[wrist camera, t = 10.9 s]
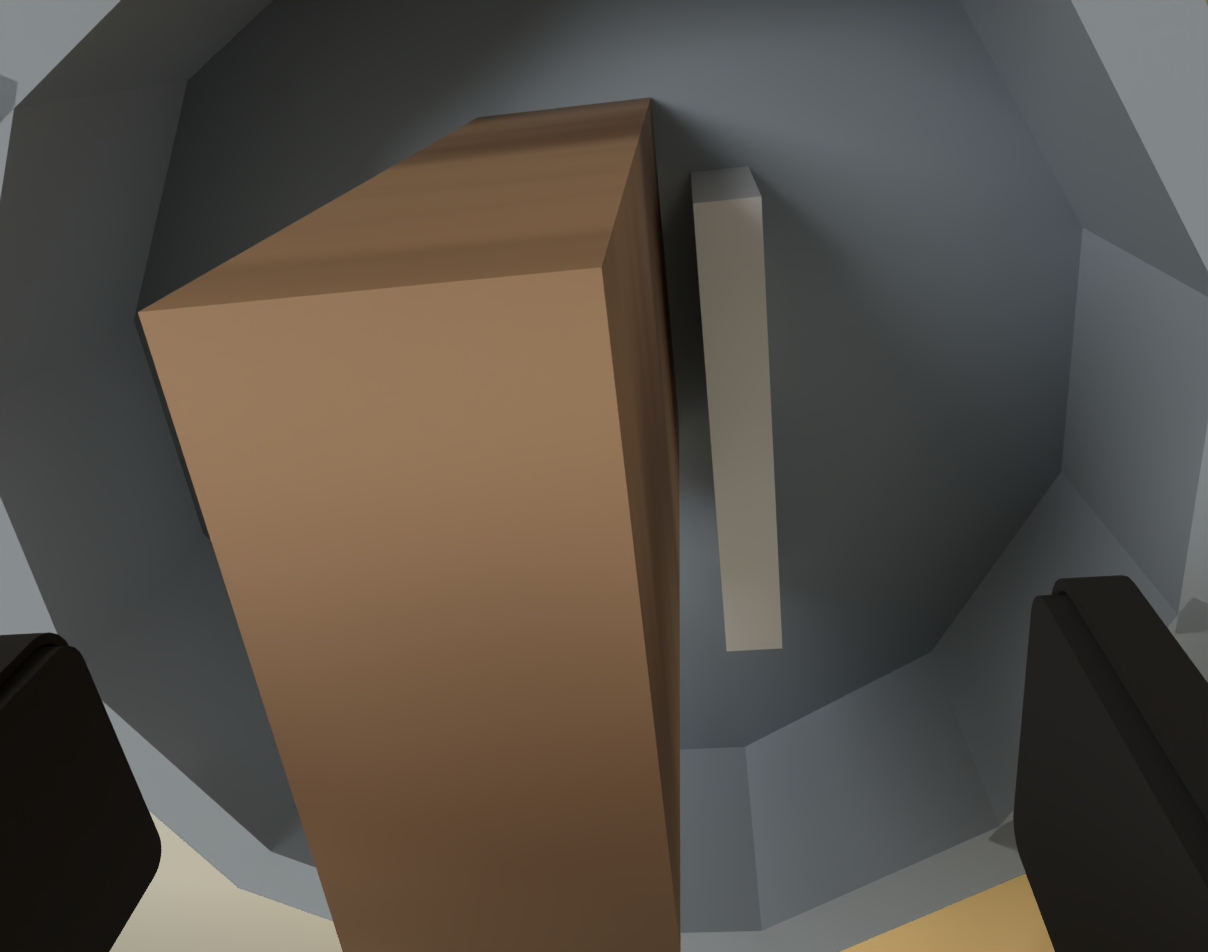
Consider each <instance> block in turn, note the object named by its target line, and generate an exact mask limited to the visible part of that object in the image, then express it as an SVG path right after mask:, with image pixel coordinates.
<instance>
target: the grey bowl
mask: <svg viewBox="0 0 1208 952" xmlns="http://www.w3.org/2000/svg"><path fill="white" fill-rule="evenodd" d="M649 97H651V107H652V118H653V130H654V141H655V152H656V164H657V175H658V187H659V198H660V209H661V221H662V232H663V244H664V255H665V267H666V278H667V289H668V301H669V312H670V324H671V335H672V346H673V358H674V369H675V381H676V392H677V404H678V415H679V533H680V927H681V952H839V951H842V950H844V949H847V948H849V947H851V946H854V945H856V944H858V943H861V942H863V941H866V940H868V939H870V938H873V937H875V936H877V935H880V934H882V933H885V932H887V931H889V930H892V929H894V928H896V927H899V926H901V925H904V924H906V923H908V922H911V921H913V920H915V919H918V918H920V917H923V916H925V915H927V914H930V913H932V912H934V911H937V910H939V909H942V908H944V907H946V906H949V905H951V904H953V903H956V902H958V901H961V900H963V899H965V898H968V897H970V896H972V895H975V894H977V893H980V892H982V891H984V890H987V889H989V888H991V887H994V886H996V885H999V884H1001V883H1003V882H1006V881H1008V880H1010V879H1013V878H1015V877H1018V876H1020V875H1022V874H1025V873H1026V872H1025V870H1024V867H1023V864H1022V862H1021V859H1020V856H1019V853H1018V849H1017V845H1016V840H1015V833H1014V823H1013V812H1014V800H1015V789H1016V777H1017V766H1018V754H1019V743H1020V732H1021V720H1022V709H1023V697H1024V686H1025V674H1026V663H1027V651H1028V640H1029V629H1030V617H1031V608H1032V603H1033V600H1034V598H1035V597H1036V596H1040V595H1052V589H1053V587H1054V584H1055V582H1056V581H1057V580H1059V579H1060V578H1077V577H1095V576H1114V575H1124V576H1128V577H1129V578H1130V579H1131V580H1132V581H1133V582H1134V583H1135V584H1136V585H1137V587H1138V588H1139V590H1140V591H1141V592H1142V594H1143V595H1144V596H1145V598H1146V599H1147V600H1148V602H1149V603H1150V605H1151V606H1152V607H1153V609H1154V610H1155V611H1156V613H1157V614H1158V615H1159V617H1160V618H1161V620H1162V621H1163V622H1164V624H1165V625H1166V626H1167V628H1168V629H1169V630H1170V632H1171V633H1172V635H1173V636H1174V637H1175V639H1176V640H1177V641H1178V643H1179V644H1180V645H1181V647H1182V648H1183V650H1184V651H1185V652H1186V654H1187V655H1188V656H1189V658H1190V659H1191V660H1192V662H1193V663H1194V665H1195V666H1196V667H1197V669H1198V670H1199V671H1200V673H1201V674H1202V675H1203V677H1204V678H1205V680H1206V681H1207V682H1208V5H1207V2H1206V0H0V635H11V634H30V633H48V632H50V633H54V634H58V635H60V636H61V637H62V638H63V639H65V640H66V642H67V643H68V645H69V646H72V647H75V648H76V649H77V650H79V651H80V653H81V654H82V656H83V658H84V660H85V662H86V664H87V667H88V669H89V671H90V674H91V676H92V678H93V681H94V683H95V686H96V688H97V690H98V693H99V695H100V697H101V700H102V702H103V704H104V707H105V709H106V711H107V714H108V716H109V718H110V721H111V723H112V726H113V728H114V730H115V733H116V735H117V737H118V740H119V742H120V744H121V747H122V749H123V751H124V754H125V756H126V758H127V761H128V763H129V766H130V768H131V770H132V773H133V775H134V777H135V780H136V782H137V784H138V787H139V789H140V791H141V794H142V796H143V799H144V801H145V803H146V806H147V808H148V810H149V811H150V812H151V813H152V814H154V815H155V816H156V817H157V818H158V819H159V820H160V821H162V822H163V823H164V824H165V825H166V826H167V827H169V828H170V829H171V830H172V831H173V832H174V833H175V834H177V835H178V836H179V837H180V838H181V839H183V840H184V841H185V842H186V843H187V844H189V846H191V847H192V848H193V849H194V850H195V851H196V852H197V853H199V854H200V855H201V856H202V857H203V858H204V859H206V860H207V861H208V862H209V863H210V864H212V865H213V866H214V867H215V868H216V869H217V870H218V871H219V872H221V873H222V874H223V875H224V876H225V877H226V878H228V879H229V880H230V881H231V882H232V883H233V884H234V885H236V886H237V887H238V888H240V889H243V890H246V891H249V892H252V893H255V894H257V895H260V896H263V897H266V898H269V899H272V900H275V901H277V902H280V903H283V904H286V905H289V906H292V907H294V908H297V909H300V910H303V911H306V912H308V913H311V914H314V915H317V916H320V917H323V918H326V919H329V920H331V921H333V919H332V916H331V913H330V910H329V907H328V904H327V901H326V897H325V894H324V891H323V888H322V885H321V882H320V879H319V876H318V872H317V869H316V866H315V863H314V860H313V857H312V854H311V851H310V848H309V844H308V841H307V838H306V835H305V832H304V829H303V826H302V823H301V819H300V816H299V813H298V810H297V807H296V804H295V801H294V798H293V795H292V791H291V788H290V785H289V782H288V779H287V776H286V773H285V770H284V766H283V763H282V760H281V757H280V754H279V751H278V748H277V745H276V741H275V738H274V735H273V732H272V729H271V726H270V723H269V720H268V717H267V713H266V710H265V707H264V704H263V701H262V698H261V695H260V692H259V688H258V685H257V682H256V679H255V676H254V673H253V670H252V667H251V664H250V660H249V657H248V654H247V651H246V648H245V645H244V642H243V639H242V635H241V632H240V629H239V626H238V623H237V620H236V617H235V614H234V611H233V607H232V604H231V601H230V598H229V595H228V592H227V589H226V586H225V582H224V579H223V576H222V573H221V570H220V567H219V564H218V561H217V558H216V554H215V551H214V548H213V545H212V542H211V539H210V536H209V533H208V529H207V526H206V523H205V520H204V517H203V514H202V511H201V508H200V505H199V501H198V498H197V495H196V492H195V489H194V486H193V483H192V480H191V476H190V473H189V470H188V467H187V464H186V461H185V458H184V455H183V452H182V448H181V445H180V442H179V439H178V436H177V433H176V430H175V427H174V423H173V420H172V417H171V414H170V411H169V408H168V405H167V402H166V399H165V395H164V392H163V389H162V386H161V383H160V380H159V377H158V374H157V370H156V367H155V364H154V361H153V358H152V355H151V352H150V349H149V346H148V342H147V339H146V336H145V333H144V330H143V327H142V324H141V321H140V317H139V314H138V312H139V311H141V310H143V309H144V308H146V307H148V306H150V305H151V304H153V303H155V302H157V301H158V300H160V299H162V298H164V297H165V296H167V295H169V294H170V293H172V292H174V291H176V290H177V289H179V288H181V287H183V286H184V285H186V284H188V283H190V282H191V281H193V280H195V279H197V278H198V277H200V276H202V275H204V274H205V273H207V272H209V271H211V270H212V269H214V268H216V267H218V266H219V265H221V264H223V263H225V262H226V261H228V260H230V259H232V258H233V257H235V256H237V255H239V254H240V253H242V252H244V251H246V250H247V249H249V248H251V247H252V246H254V245H256V244H258V243H259V242H261V241H263V240H265V239H266V238H268V237H270V236H272V235H273V234H275V233H277V232H279V231H280V230H282V229H284V228H286V227H287V226H289V225H291V224H293V223H294V222H296V221H298V220H300V219H301V218H303V217H305V216H307V215H308V214H310V213H312V212H314V211H315V210H317V209H319V208H321V207H322V206H324V205H326V204H327V203H329V202H331V201H333V200H334V199H336V198H338V197H340V196H341V195H343V194H345V193H347V192H348V191H350V190H352V189H354V188H355V187H357V186H359V185H361V184H362V183H364V182H366V181H368V180H369V179H371V178H373V177H375V176H376V175H378V174H380V173H382V172H383V171H385V170H387V169H389V168H390V167H392V166H394V165H396V164H397V163H399V162H401V161H402V160H404V159H406V158H408V157H409V156H411V155H413V154H415V153H416V152H418V151H420V150H422V149H423V148H425V147H427V146H429V145H430V144H432V143H434V142H436V141H437V140H439V139H441V138H443V137H444V136H446V135H448V134H450V133H451V132H453V131H455V130H457V129H458V128H460V127H462V126H464V125H465V124H467V123H469V122H471V121H472V120H474V119H476V118H477V117H484V116H493V115H502V114H510V113H519V112H528V111H536V110H545V109H554V108H562V107H571V106H580V105H588V104H597V103H606V102H614V101H623V100H632V99H640V98H649Z"/></svg>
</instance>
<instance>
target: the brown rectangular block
mask: <svg viewBox="0 0 1208 952" xmlns="http://www.w3.org/2000/svg"><path fill="white" fill-rule="evenodd" d="M138 314H139V317H140V321H141V324H142V327H143V330H144V333H145V336H146V339H147V342H148V346H149V349H150V352H151V355H152V358H153V361H154V364H155V367H156V370H157V374H158V377H159V380H160V383H161V386H162V389H163V392H164V395H165V399H166V402H167V405H168V408H169V411H170V414H171V417H172V420H173V423H174V427H175V430H176V433H177V436H178V439H179V442H180V445H181V448H182V452H183V455H184V458H185V461H186V464H187V467H188V470H189V473H190V476H191V480H192V483H193V486H194V489H195V492H196V495H197V498H198V501H199V505H200V508H201V511H202V514H203V517H204V520H205V523H206V526H207V529H208V533H209V536H210V539H211V542H212V545H213V548H214V551H215V554H216V558H217V561H218V564H219V567H220V570H221V573H222V576H223V579H224V582H225V586H226V589H227V592H228V595H229V598H230V601H231V604H232V607H233V611H234V614H235V617H236V620H237V623H238V626H239V629H240V632H241V635H242V639H243V642H244V645H245V648H246V651H247V654H248V657H249V660H250V664H251V667H252V670H253V673H254V676H255V679H256V682H257V685H258V688H259V692H260V695H261V698H262V701H263V704H264V707H265V710H266V713H267V717H268V720H269V723H270V726H271V729H272V732H273V735H274V738H275V741H276V745H277V748H278V751H279V754H280V757H281V760H282V763H283V766H284V770H285V773H286V776H287V779H288V782H289V785H290V788H291V791H292V795H293V798H294V801H295V804H296V807H297V810H298V813H299V816H300V819H301V823H302V826H303V829H304V832H305V835H306V838H307V841H308V844H309V848H310V851H311V854H312V857H313V860H314V863H315V866H316V869H317V872H318V876H319V879H320V882H321V885H322V888H323V891H324V894H325V897H326V901H327V904H328V907H329V910H330V913H331V916H332V919H333V922H334V925H335V928H336V931H337V935H338V938H339V941H340V944H341V947H342V950H343V952H681V927H680V533H679V415H678V404H677V392H676V381H675V369H674V358H673V346H672V335H671V324H670V312H669V301H668V289H667V278H666V267H665V255H664V244H663V232H662V221H661V209H660V198H659V187H658V175H657V164H656V152H655V141H654V130H653V118H652V107H651V97H649V98H640V99H632V100H623V101H614V102H606V103H597V104H588V105H580V106H571V107H562V108H554V109H545V110H536V111H528V112H519V113H510V114H502V115H493V116H484V117H477V118H476V119H474V120H472V121H471V122H469V123H467V124H465V125H464V126H462V127H460V128H458V129H457V130H455V131H453V132H451V133H450V134H448V135H446V136H444V137H443V138H441V139H439V140H437V141H436V142H434V143H432V144H430V145H429V146H427V147H425V148H423V149H422V150H420V151H418V152H416V153H415V154H413V155H411V156H409V157H408V158H406V159H404V160H402V161H401V162H399V163H397V164H396V165H394V166H392V167H390V168H389V169H387V170H385V171H383V172H382V173H380V174H378V175H376V176H375V177H373V178H371V179H369V180H368V181H366V182H364V183H362V184H361V185H359V186H357V187H355V188H354V189H352V190H350V191H348V192H347V193H345V194H343V195H341V196H340V197H338V198H336V199H334V200H333V201H331V202H329V203H327V204H326V205H324V206H322V207H321V208H319V209H317V210H315V211H314V212H312V213H310V214H308V215H307V216H305V217H303V218H301V219H300V220H298V221H296V222H294V223H293V224H291V225H289V226H287V227H286V228H284V229H282V230H280V231H279V232H277V233H275V234H273V235H272V236H270V237H268V238H266V239H265V240H263V241H261V242H259V243H258V244H256V245H254V246H252V247H251V248H249V249H247V250H246V251H244V252H242V253H240V254H239V255H237V256H235V257H233V258H232V259H230V260H228V261H226V262H225V263H223V264H221V265H219V266H218V267H216V268H214V269H212V270H211V271H209V272H207V273H205V274H204V275H202V276H200V277H198V278H197V279H195V280H193V281H191V282H190V283H188V284H186V285H184V286H183V287H181V288H179V289H177V290H176V291H174V292H172V293H170V294H169V295H167V296H165V297H164V298H162V299H160V300H158V301H157V302H155V303H153V304H151V305H150V306H148V307H146V308H144V309H143V310H141V311H139V312H138Z"/></svg>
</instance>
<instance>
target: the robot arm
mask: <svg viewBox="0 0 1208 952" xmlns="http://www.w3.org/2000/svg"><path fill="white" fill-rule="evenodd" d="M1013 823H1014V833H1015V840H1016V845H1017V849H1018V853H1019V856H1020V859H1021V862H1022V864H1023V867H1024V870H1025V872H1026V875H1027V878H1028V880H1029V883H1030V886H1031V888H1032V891H1033V894H1034V896H1035V899H1036V902H1037V904H1038V907H1039V910H1040V912H1041V915H1042V918H1043V920H1044V923H1045V926H1046V928H1047V931H1048V934H1049V936H1050V939H1051V942H1052V945H1053V947H1054V950H1055V952H1208V682H1207V681H1206V680H1205V678H1204V677H1203V675H1202V674H1201V673H1200V671H1199V670H1198V669H1197V667H1196V666H1195V665H1194V663H1193V662H1192V660H1191V659H1190V658H1189V656H1188V655H1187V654H1186V652H1185V651H1184V650H1183V648H1182V647H1181V645H1180V644H1179V643H1178V641H1177V640H1176V639H1175V637H1174V636H1173V635H1172V633H1171V632H1170V630H1169V629H1168V628H1167V626H1166V625H1165V624H1164V622H1163V621H1162V620H1161V618H1160V617H1159V615H1158V614H1157V613H1156V611H1155V610H1154V609H1153V607H1152V606H1151V605H1150V603H1149V602H1148V600H1147V599H1146V598H1145V596H1144V595H1143V594H1142V592H1141V591H1140V590H1139V588H1138V587H1137V585H1136V584H1135V583H1134V582H1133V581H1132V580H1131V579H1130V578H1129V577H1128V576H1124V575H1114V576H1095V577H1077V578H1060V579H1059V580H1057V581H1056V582H1055V584H1054V587H1053V589H1052V595H1040V596H1036V597H1035V598H1034V600H1033V603H1032V608H1031V617H1030V629H1029V640H1028V651H1027V663H1026V674H1025V686H1024V697H1023V709H1022V720H1021V732H1020V743H1019V754H1018V766H1017V777H1016V789H1015V800H1014V812H1013ZM160 858H161V841H160V837H159V834H158V832H157V830H156V827H155V825H154V822H153V820H152V818H151V815H150V813H149V810H148V808H147V806H146V803H145V801H144V799H143V796H142V794H141V791H140V789H139V787H138V784H137V782H136V780H135V777H134V775H133V773H132V770H131V768H130V766H129V763H128V761H127V758H126V756H125V754H124V751H123V749H122V747H121V744H120V742H119V740H118V737H117V735H116V733H115V730H114V728H113V726H112V723H111V721H110V718H109V716H108V714H107V711H106V709H105V707H104V704H103V702H102V700H101V697H100V695H99V693H98V690H97V688H96V686H95V683H94V681H93V678H92V676H91V674H90V671H89V669H88V667H87V664H86V662H85V660H84V658H83V656H82V654H81V653H80V651H79V650H77V649H76V648H75V647H72V646H69V645H68V643H67V642H66V640H65V639H63V638H62V637H61V636H60V635H58V634H54V633H50V632H48V633H30V634H11V635H0V952H109V951H110V949H111V948H112V946H113V944H114V943H115V941H116V939H117V938H118V936H119V934H120V933H121V931H122V929H123V928H124V926H125V924H126V923H127V921H128V919H129V918H130V916H131V914H132V913H133V911H134V909H135V908H136V906H137V904H138V903H139V901H140V899H141V898H142V896H143V894H144V893H145V891H146V889H147V888H148V886H149V884H150V883H151V881H152V879H153V877H154V876H155V874H156V872H157V869H158V866H159V862H160Z"/></svg>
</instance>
